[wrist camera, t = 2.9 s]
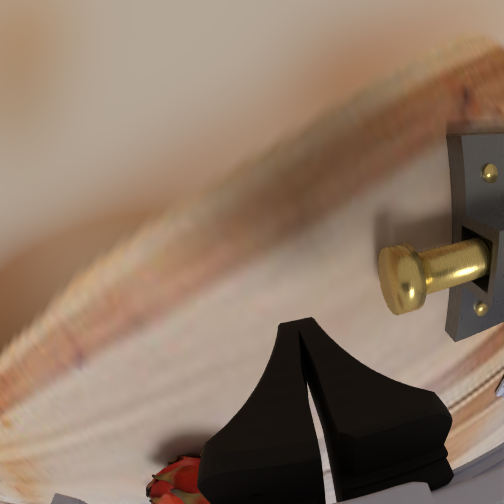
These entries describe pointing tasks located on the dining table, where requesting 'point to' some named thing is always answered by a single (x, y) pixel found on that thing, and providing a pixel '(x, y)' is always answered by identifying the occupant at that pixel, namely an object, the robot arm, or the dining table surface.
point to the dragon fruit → (177, 483)
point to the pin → (429, 271)
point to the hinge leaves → (477, 228)
